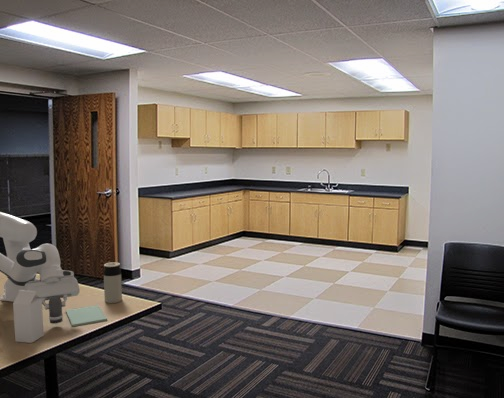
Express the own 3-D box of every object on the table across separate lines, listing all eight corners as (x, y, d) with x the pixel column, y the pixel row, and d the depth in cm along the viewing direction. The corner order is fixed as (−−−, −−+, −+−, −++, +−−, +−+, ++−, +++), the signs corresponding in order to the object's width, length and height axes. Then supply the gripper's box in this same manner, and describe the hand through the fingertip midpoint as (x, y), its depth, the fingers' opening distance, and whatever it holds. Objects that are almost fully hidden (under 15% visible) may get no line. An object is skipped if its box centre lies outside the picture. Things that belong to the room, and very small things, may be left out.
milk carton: (32, 343, 172) (29, 294, 170) (15, 342, 173) (12, 293, 171) (44, 335, 179) (41, 288, 177) (27, 334, 180) (24, 287, 178)
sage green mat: (65, 311, 206) (65, 310, 205) (98, 306, 212) (98, 304, 212) (72, 326, 188) (72, 324, 188) (107, 320, 195) (107, 318, 195)
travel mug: (104, 304, 216) (102, 266, 214) (105, 299, 223) (103, 262, 221) (122, 302, 218) (120, 265, 216) (122, 297, 225) (120, 261, 223)
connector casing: (48, 320, 189) (47, 296, 188) (62, 318, 191) (60, 294, 190) (50, 324, 185) (48, 299, 183) (63, 322, 187) (62, 297, 186)
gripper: (24, 278, 187) (27, 308, 180) (77, 271, 197) (82, 299, 190) (24, 285, 192) (27, 315, 184) (76, 278, 202) (80, 306, 194)
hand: (55, 307), depth 187 cm, fingers closed on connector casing, 5 cm apart
